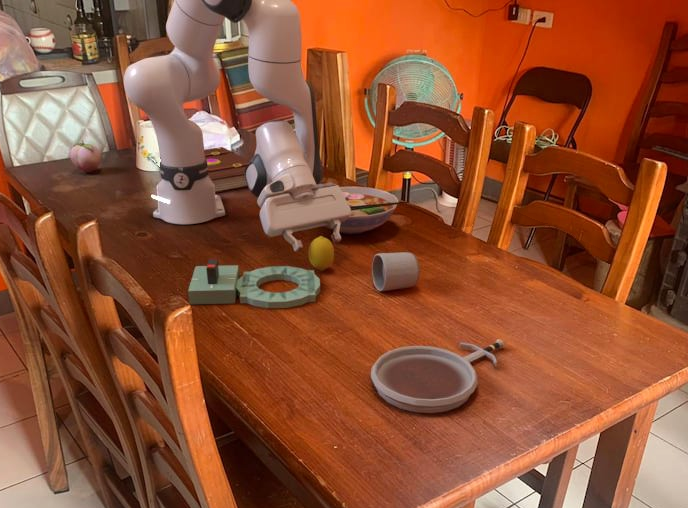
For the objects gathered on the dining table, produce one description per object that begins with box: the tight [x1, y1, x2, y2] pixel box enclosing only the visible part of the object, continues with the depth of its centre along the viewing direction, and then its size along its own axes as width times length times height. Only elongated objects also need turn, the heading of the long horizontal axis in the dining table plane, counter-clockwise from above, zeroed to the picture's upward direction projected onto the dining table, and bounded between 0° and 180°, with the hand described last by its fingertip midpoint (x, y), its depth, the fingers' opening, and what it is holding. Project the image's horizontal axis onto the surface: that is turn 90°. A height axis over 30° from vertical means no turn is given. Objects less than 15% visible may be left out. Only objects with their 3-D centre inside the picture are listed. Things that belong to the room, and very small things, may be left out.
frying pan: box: [370, 338, 505, 414], centre depth 111 cm, size 17×3×28 cm
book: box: [204, 146, 251, 194], centre depth 206 cm, size 23×32×5 cm
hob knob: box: [206, 259, 219, 284], centre depth 136 cm, size 4×2×4 cm, turn 3°
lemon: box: [308, 235, 335, 272], centre depth 145 cm, size 6×6×8 cm
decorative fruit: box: [69, 139, 102, 174], centre depth 210 cm, size 9×8×10 cm
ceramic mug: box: [371, 251, 421, 292], centre depth 139 cm, size 11×8×8 cm
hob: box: [236, 265, 321, 309], centre depth 139 cm, size 17×17×2 cm
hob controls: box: [187, 264, 240, 305], centre depth 138 cm, size 12×9×3 cm
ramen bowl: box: [325, 186, 411, 235], centre depth 167 cm, size 25×23×8 cm
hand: (318, 245), depth 145 cm, fingers open, 8 cm apart
